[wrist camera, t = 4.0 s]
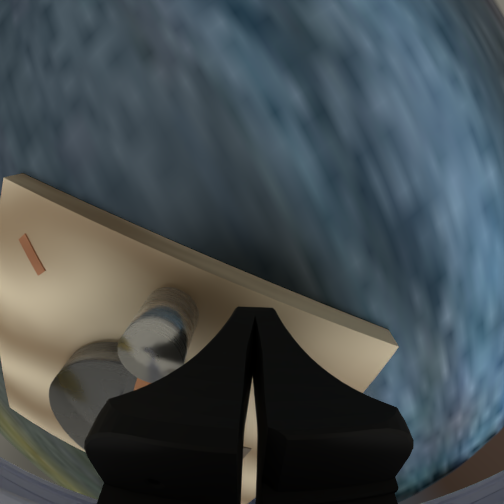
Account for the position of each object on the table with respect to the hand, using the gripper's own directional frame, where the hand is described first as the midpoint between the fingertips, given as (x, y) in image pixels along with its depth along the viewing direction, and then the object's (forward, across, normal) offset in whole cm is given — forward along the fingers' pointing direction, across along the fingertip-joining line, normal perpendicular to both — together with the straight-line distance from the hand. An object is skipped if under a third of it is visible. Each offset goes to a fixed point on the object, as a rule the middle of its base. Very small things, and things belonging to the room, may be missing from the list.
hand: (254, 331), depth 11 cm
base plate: (+3, +6, +6) cm, 9 cm away
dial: (+1, +5, +5) cm, 7 cm away
